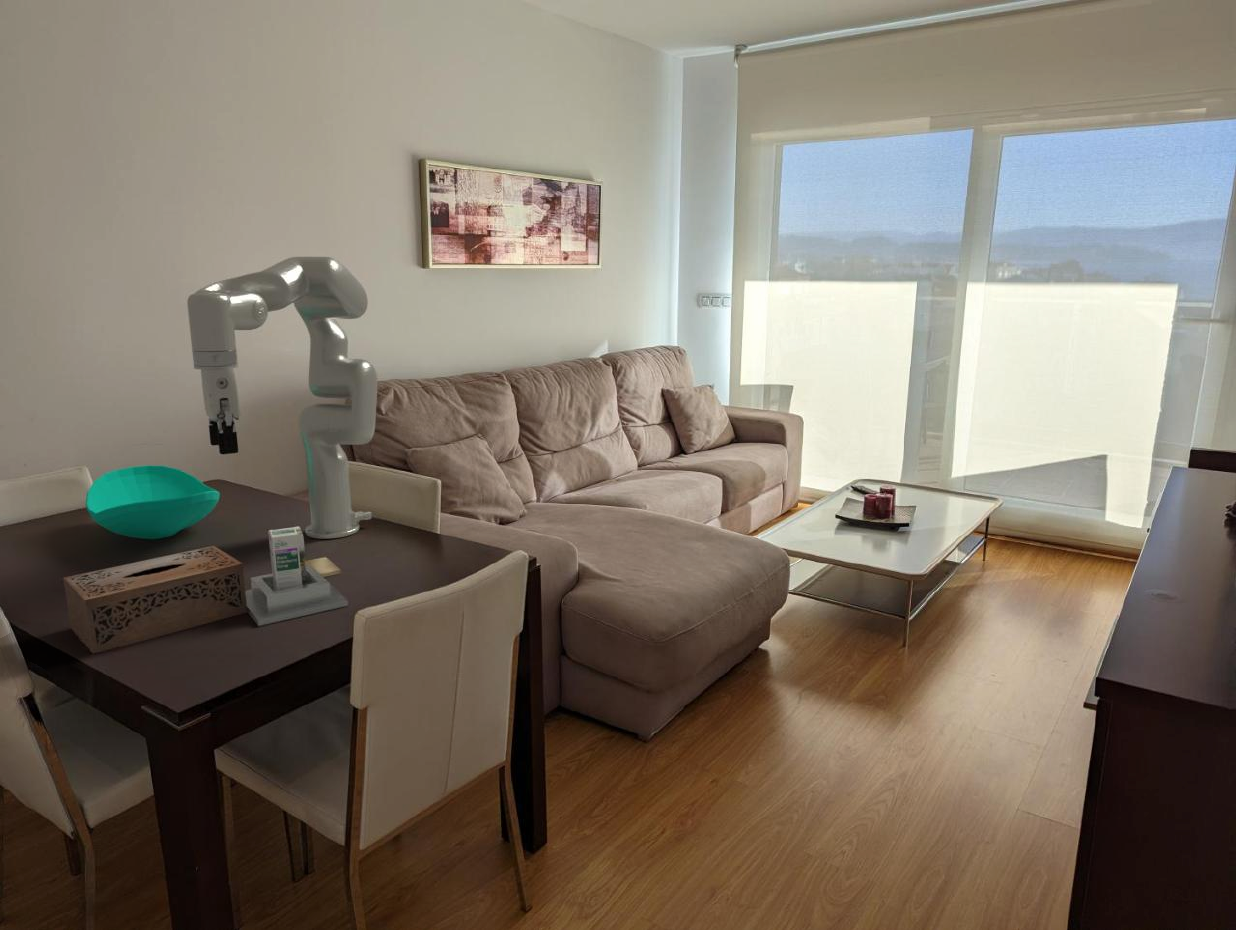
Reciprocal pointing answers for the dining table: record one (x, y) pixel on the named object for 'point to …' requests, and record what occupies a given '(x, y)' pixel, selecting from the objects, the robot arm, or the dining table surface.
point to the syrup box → (287, 558)
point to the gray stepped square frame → (291, 598)
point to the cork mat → (324, 566)
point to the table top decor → (149, 501)
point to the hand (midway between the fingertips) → (224, 448)
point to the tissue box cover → (154, 597)
